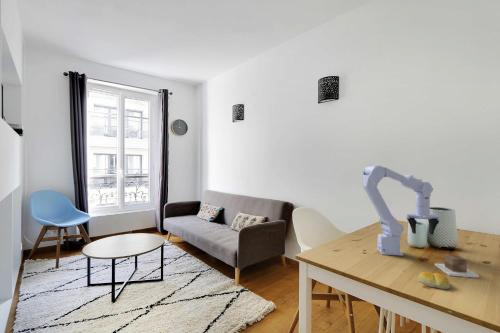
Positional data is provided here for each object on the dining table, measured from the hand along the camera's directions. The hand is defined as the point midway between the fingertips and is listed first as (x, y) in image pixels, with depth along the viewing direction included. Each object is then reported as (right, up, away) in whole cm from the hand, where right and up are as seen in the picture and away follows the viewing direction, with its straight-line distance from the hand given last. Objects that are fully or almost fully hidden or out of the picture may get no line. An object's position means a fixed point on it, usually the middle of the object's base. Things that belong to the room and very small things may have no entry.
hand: (422, 233), depth 120 cm
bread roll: (-18, -10, -31) cm, 38 cm away
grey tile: (-2, -9, -21) cm, 23 cm away
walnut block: (-2, -9, -21) cm, 23 cm away
